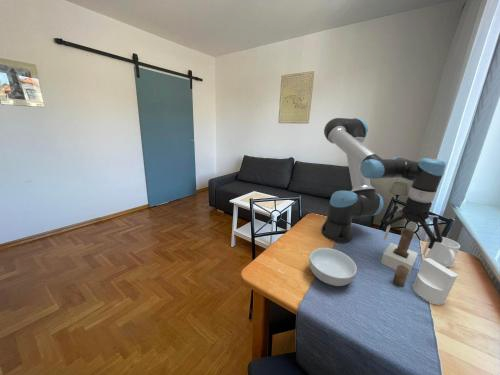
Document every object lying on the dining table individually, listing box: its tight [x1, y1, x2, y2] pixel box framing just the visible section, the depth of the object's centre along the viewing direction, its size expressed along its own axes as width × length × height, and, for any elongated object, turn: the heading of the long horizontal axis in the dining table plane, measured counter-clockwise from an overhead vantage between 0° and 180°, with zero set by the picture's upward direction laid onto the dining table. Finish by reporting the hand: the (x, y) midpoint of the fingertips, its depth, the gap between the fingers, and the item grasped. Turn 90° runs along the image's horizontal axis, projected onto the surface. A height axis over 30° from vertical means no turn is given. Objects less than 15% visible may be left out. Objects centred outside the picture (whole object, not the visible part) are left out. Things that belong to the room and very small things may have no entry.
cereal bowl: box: [308, 247, 358, 287], centre depth 78 cm, size 17×17×7 cm
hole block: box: [380, 242, 419, 277], centre depth 87 cm, size 10×12×5 cm
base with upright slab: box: [412, 257, 459, 305], centre depth 71 cm, size 9×9×12 cm
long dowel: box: [395, 228, 415, 258], centre depth 85 cm, size 4×4×16 cm
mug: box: [426, 236, 461, 268], centre depth 87 cm, size 12×8×10 cm
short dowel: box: [391, 265, 409, 288], centre depth 75 cm, size 4×4×7 cm
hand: (403, 245), depth 85 cm, fingers open, 13 cm apart
